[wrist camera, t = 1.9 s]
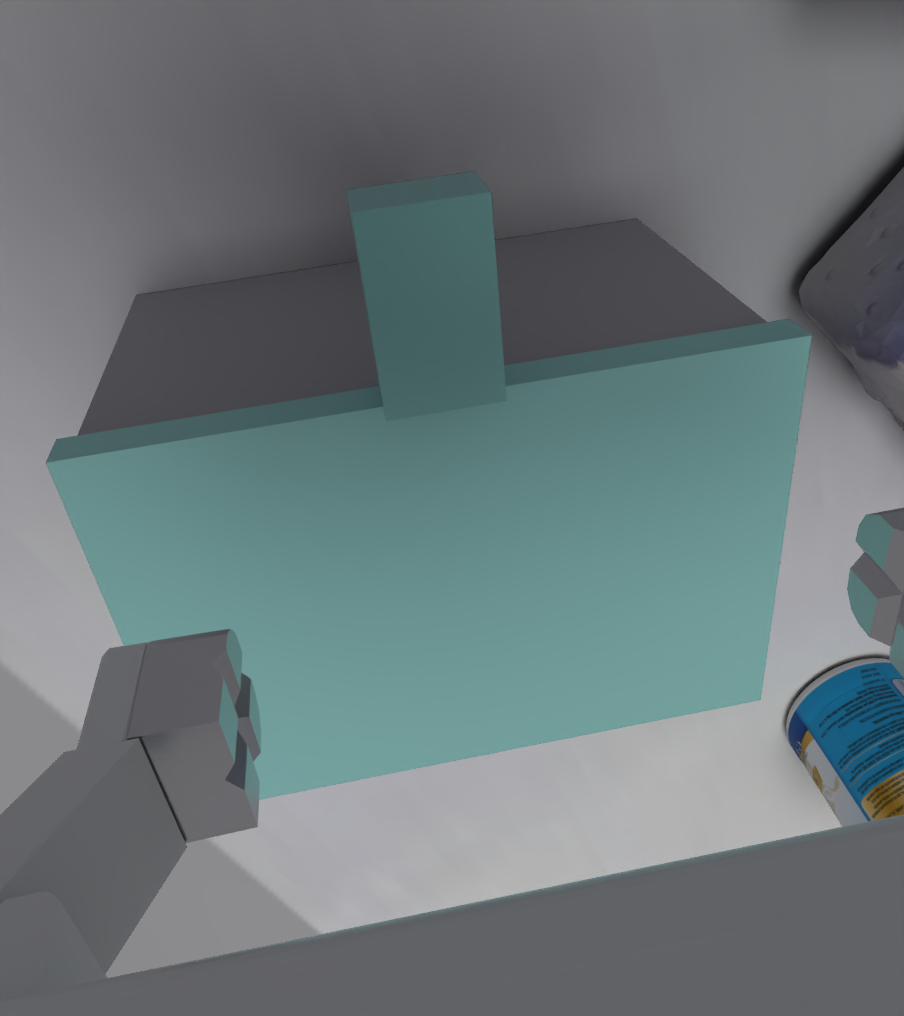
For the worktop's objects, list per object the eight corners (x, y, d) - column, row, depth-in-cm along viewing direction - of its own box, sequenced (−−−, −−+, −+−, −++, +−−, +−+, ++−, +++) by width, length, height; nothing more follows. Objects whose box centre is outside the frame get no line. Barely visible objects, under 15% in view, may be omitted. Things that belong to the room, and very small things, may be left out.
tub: (135, 295, 32) (72, 447, 22) (636, 218, 33) (777, 330, 24) (224, 572, 39) (205, 775, 30) (631, 499, 40) (738, 671, 31)
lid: (-25, 244, 19) (-54, 273, 18) (814, 121, 21) (860, 137, 19) (198, 783, 30) (193, 832, 28) (745, 675, 31) (771, 716, 29)
